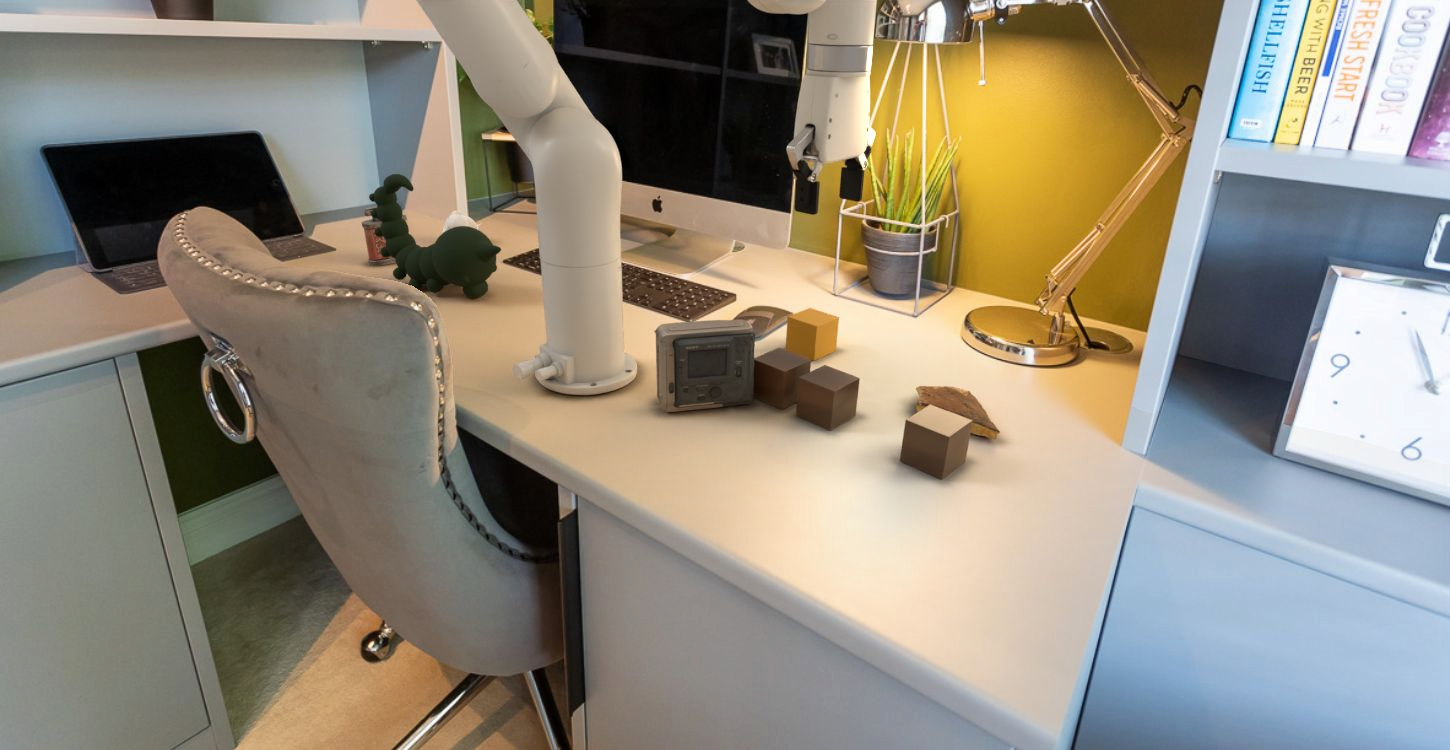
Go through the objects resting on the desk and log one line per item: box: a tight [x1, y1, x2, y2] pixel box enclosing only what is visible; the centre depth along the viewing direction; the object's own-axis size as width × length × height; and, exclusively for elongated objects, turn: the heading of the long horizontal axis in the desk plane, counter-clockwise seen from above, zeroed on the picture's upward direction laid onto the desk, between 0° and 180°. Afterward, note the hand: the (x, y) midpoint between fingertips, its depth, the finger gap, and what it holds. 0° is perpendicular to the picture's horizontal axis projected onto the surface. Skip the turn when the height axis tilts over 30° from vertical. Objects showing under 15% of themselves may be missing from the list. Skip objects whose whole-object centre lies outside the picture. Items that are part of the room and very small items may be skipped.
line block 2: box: [795, 364, 861, 431], centre depth 90 cm, size 5×5×5 cm
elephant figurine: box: [441, 209, 484, 234], centre depth 150 cm, size 7×8×6 cm
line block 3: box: [899, 405, 973, 480], centre depth 82 cm, size 5×5×5 cm
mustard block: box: [785, 307, 840, 361], centre depth 107 cm, size 5×5×5 cm
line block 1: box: [753, 347, 812, 411], centre depth 94 cm, size 5×5×5 cm
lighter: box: [361, 205, 408, 267], centre depth 138 cm, size 8×3×10 cm, turn 144°
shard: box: [915, 385, 1001, 440], centre depth 91 cm, size 11×8×2 cm
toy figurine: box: [368, 173, 502, 300], centre depth 123 cm, size 9×19×25 cm
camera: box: [653, 319, 756, 413], centre depth 91 cm, size 11×6×10 cm, turn 102°
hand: (828, 205), depth 99 cm, fingers open, 9 cm apart
